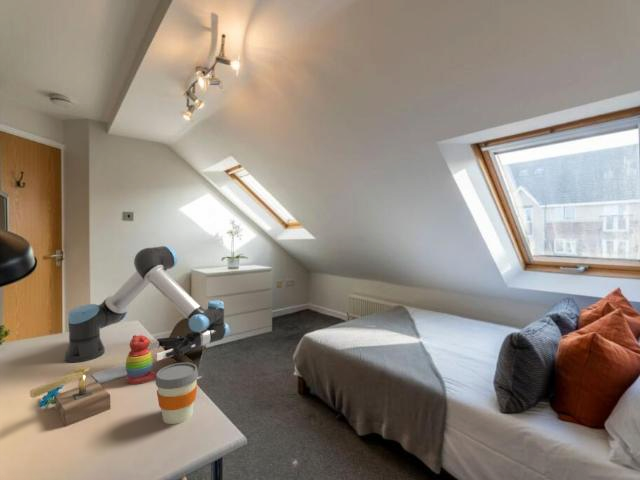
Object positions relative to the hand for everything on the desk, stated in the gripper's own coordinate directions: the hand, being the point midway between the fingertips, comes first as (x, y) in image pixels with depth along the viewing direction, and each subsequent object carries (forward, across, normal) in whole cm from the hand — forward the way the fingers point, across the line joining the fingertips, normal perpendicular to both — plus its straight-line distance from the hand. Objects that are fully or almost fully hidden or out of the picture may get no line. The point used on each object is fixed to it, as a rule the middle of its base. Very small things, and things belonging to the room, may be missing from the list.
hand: (149, 352), depth 129 cm
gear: (+30, +5, -10) cm, 32 cm away
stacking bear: (+3, +1, -10) cm, 11 cm away
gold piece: (+31, -9, -4) cm, 32 cm away
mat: (+9, +14, -10) cm, 19 cm away
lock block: (+24, -7, -10) cm, 27 cm away
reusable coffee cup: (+6, -35, -10) cm, 37 cm away
